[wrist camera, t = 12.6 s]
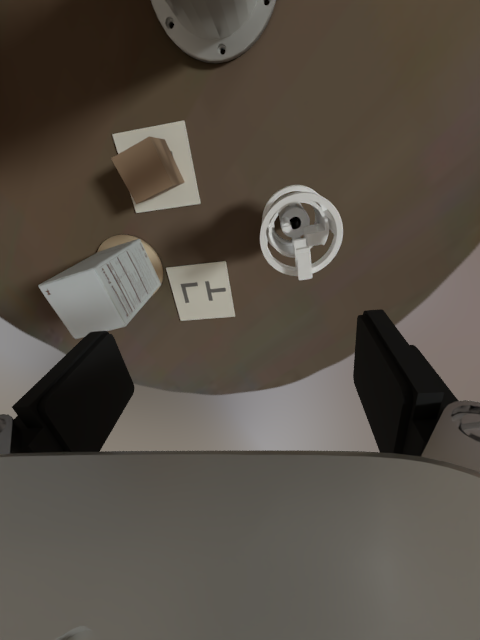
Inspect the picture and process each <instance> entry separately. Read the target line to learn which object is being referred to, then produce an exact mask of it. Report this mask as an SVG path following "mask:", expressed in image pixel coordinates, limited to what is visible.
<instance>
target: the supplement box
mask: <svg viewBox="0 0 480 640" xmlns="http://www.w3.org/2000/svg"><path fill="white" fill-rule="evenodd" d="M160 285H161V283H160V280H159V278H158V276H157V274H156V272H155V269H154V267H153V265H152V263H151V261H150V259H149V257H148V255H147V252H146V250H145V248H144V246H143V244H142V242H141V240H140V239H136V240H133V241H129V242H126V243H123V244H120V245H117V246H114V247H111V248H108V249H105V250H102V251H100V252H97V253H96V254H94V255H92V256H90V257H88V258H87V259H85V260H83V261H81V262H79V263H77V264H76V265H74V266H72V267H70V268H68V269H67V270H65V271H63V272H61V273H59V274H58V275H56V276H54V277H52V278H50V279H49V280H47V281H45V282H43V283H41V284H40V285H38V287H39V288H40V290H41V291H42V293H43V294H44V296H45V297H46V299H47V300H48V302H49V303H50V305H51V306H52V307H53V309H54V310H55V312H56V313H57V315H58V316H59V317H60V319H61V320H62V322H63V323H64V325H65V326H66V327H67V329H68V330H69V332H70V333H71V335H72V336H73V337H74V338H75V339H78V338H82V337H85V336H86V335H87V334H89V333H90V332H94V331H110V330H113V329H117V328H121V327H125V326H126V325H127V324H128V323H129V322H130V321H131V319H132V318H133V317H134V316H135V315H136V313H137V312H138V311H139V310H140V309H141V308H142V307H143V305H144V304H145V303H146V302H147V301H148V299H149V298H150V297H151V296H152V295H153V294H154V292H155V291H156V290H157V289H158V288H159V287H160Z"/></svg>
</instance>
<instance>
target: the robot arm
mask: <svg viewBox="0 0 480 640" xmlns="http://www.w3.org/2000/svg"><path fill="white" fill-rule="evenodd" d="M265 1H266V0H151V3H152V6H153V8H154V11H155V13H156V15H157V18H158V20H159V22H160V23H161V25H162V27H163V28H164V30H165V32H166V33H167V35H168V36H169V37H170V38H171V40H172V41H173V42H174V43H175V44H176V45H177V46H178V47H179V48H180V49H181V50H182V51H183V52H185V53H186V54H188V55H189V56H191V57H192V58H194V59H197V60H200V61H203V62H207V63H222V62H228V61H230V60H232V59H235V58H237V57H239V56H240V55H242V54H243V53H245V52H246V51H247V50H249V49H250V47H251V46H252V45H253V44H254V43H255V42H256V41H257V40H258V39H259V37H260V36H261V34H262V32H263V31H264V29H265V28H266V26H267V24H268V22H269V19H270V17H271V15H272V13H273V10H274V6H275V3H276V0H268V1H269V5H267V6H266V5H264V2H265ZM172 23H173V24H174V27H173V28H172V29H171V28H170V25H171V24H172ZM222 49H224V50H225V54H223V55H222V54H221V50H222ZM353 376H354V384H355V387H356V389H357V392H358V395H359V397H360V400H361V403H362V405H363V408H364V411H365V413H366V416H367V419H368V421H369V424H370V426H371V429H372V432H373V435H374V437H375V440H376V443H377V445H378V448H379V451H380V453H378V452H358V451H122V452H121V451H117V452H116V451H112V452H99V451H100V450H101V448H102V446H103V444H104V443H105V441H106V439H107V438H108V436H109V434H110V432H111V431H112V429H113V427H114V426H115V424H116V422H117V420H118V419H119V417H120V415H121V414H122V412H123V410H124V408H125V407H126V405H127V403H128V401H129V400H130V398H131V397H132V395H133V392H134V384H133V382H132V379H131V377H130V375H129V372H128V370H127V368H126V365H125V363H124V360H123V358H122V356H121V353H120V351H119V349H118V346H117V344H116V341H115V339H114V337H113V335H112V334H109V333H108V332H107V331H94V332H90V333H89V334H87V335H86V336H85V337H84V338H83V339H82V340H81V341H80V342H79V343H78V344H77V345H76V346H75V347H74V348H73V349H72V350H71V351H70V352H69V353H68V354H67V355H66V356H65V357H64V358H63V359H62V360H60V361H59V362H58V363H57V364H56V365H55V366H54V367H53V368H52V369H51V370H50V371H49V372H48V373H47V374H46V375H45V376H44V377H43V378H42V379H41V380H40V381H39V382H38V383H36V384H35V385H34V386H33V388H31V389H30V390H29V391H28V392H27V393H26V394H25V395H24V396H23V397H22V398H21V399H20V400H19V401H18V402H17V403H16V404H15V405H14V406H13V407H12V408H13V409H14V411H15V412H16V413H17V415H18V416H17V417H16V418H15V419H13V418H12V417H11V416H9V415H5V414H2V415H0V640H480V403H479V402H474V401H458V400H457V399H456V397H455V396H454V395H453V393H452V392H451V391H450V390H449V388H448V387H447V386H446V384H445V383H444V382H443V381H442V379H441V378H440V377H439V375H438V374H437V373H436V372H435V370H434V369H433V368H432V366H431V365H430V364H429V363H428V361H427V360H426V359H425V357H424V356H423V355H422V354H421V352H420V351H419V350H418V349H417V348H416V347H415V346H414V345H409V344H408V343H407V342H406V340H405V339H404V337H403V336H402V335H401V334H400V332H399V331H398V330H397V328H396V327H395V325H394V324H393V323H392V321H391V320H390V319H389V317H388V316H387V315H386V313H385V312H384V311H383V310H369V311H364V313H363V315H359V316H358V318H357V331H356V345H355V360H354V375H353Z"/></svg>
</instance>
